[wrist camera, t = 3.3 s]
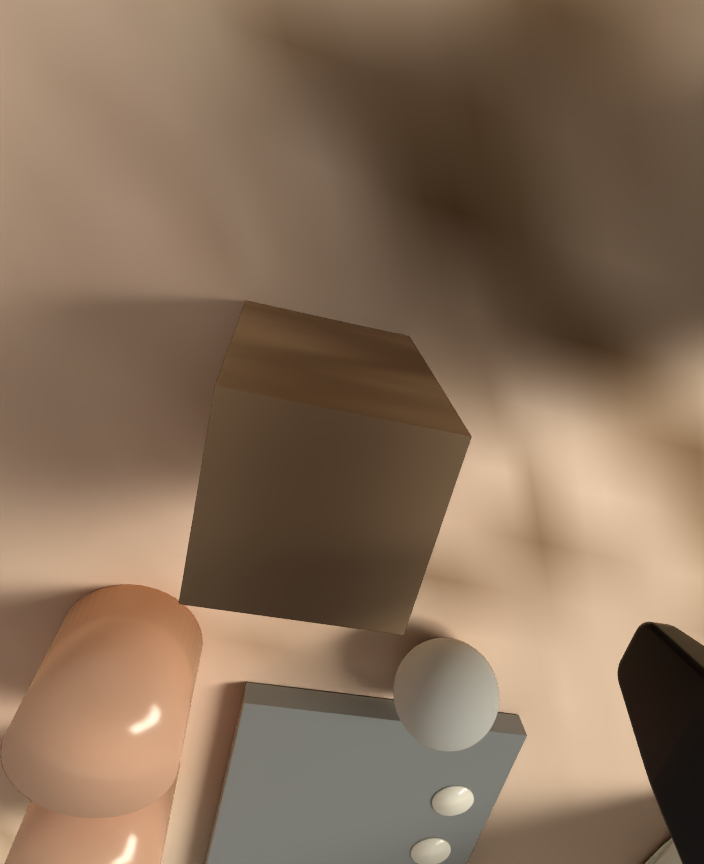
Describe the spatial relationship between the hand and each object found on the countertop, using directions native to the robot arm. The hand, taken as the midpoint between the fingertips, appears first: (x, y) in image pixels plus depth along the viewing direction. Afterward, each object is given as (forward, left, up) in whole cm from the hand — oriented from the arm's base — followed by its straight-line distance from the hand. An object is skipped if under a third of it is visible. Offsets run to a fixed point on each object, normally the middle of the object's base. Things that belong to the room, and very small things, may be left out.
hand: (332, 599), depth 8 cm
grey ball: (-5, +8, -8) cm, 12 cm away
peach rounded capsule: (+4, +9, -8) cm, 12 cm away
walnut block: (0, 0, -8) cm, 8 cm away
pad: (-4, +14, -8) cm, 17 cm away
